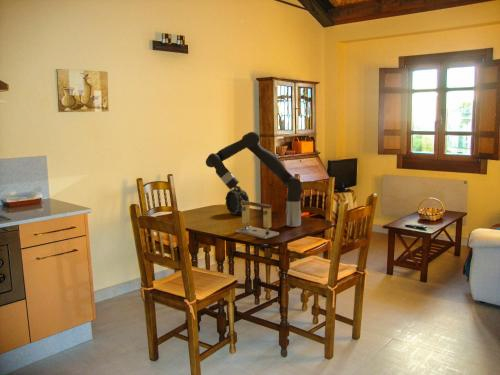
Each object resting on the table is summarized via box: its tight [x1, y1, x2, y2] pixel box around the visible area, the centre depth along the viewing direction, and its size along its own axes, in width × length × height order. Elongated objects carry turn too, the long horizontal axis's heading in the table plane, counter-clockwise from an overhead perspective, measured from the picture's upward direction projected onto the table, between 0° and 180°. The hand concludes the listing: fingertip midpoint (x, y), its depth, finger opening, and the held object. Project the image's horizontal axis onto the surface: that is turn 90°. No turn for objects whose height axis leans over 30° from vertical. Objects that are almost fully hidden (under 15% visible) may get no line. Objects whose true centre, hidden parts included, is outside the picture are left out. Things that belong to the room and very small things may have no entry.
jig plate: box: [235, 225, 280, 240], centre depth 299 cm, size 13×26×2 cm, turn 46°
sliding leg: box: [241, 204, 251, 229], centre depth 304 cm, size 5×4×16 cm
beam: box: [241, 200, 272, 209], centre depth 297 cm, size 3×24×2 cm, turn 46°
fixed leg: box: [262, 208, 272, 233], centre depth 291 cm, size 5×4×16 cm
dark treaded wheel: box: [224, 188, 250, 216], centre depth 355 cm, size 11×20×20 cm, turn 35°
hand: (246, 199), depth 290 cm, fingers open, 8 cm apart
